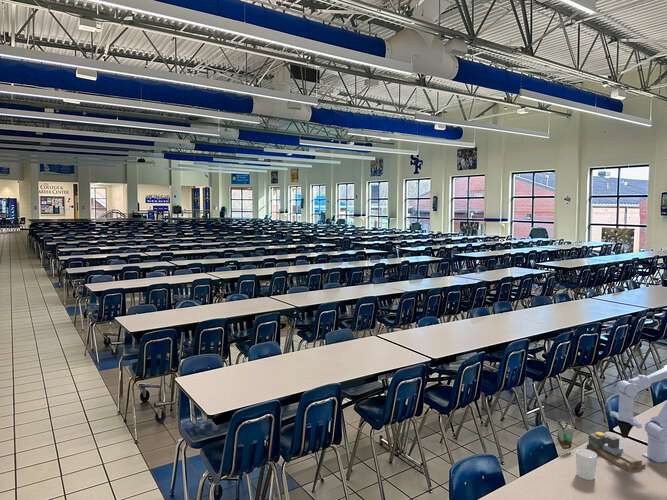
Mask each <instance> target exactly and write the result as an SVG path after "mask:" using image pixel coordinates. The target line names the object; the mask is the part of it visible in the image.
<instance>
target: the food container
mask: <svg viewBox="0 0 667 500" xmlns="http://www.w3.org/2000/svg"><path fill="white" fill-rule="evenodd" d="M556 421H557V433H556V434H557V443H558V444H559V445H560V447H561V449H562V450H568V449H572V443H573V435H574V433H575V432H576V429H575V427H574V425H573V424H572V423H571V422H570V421H567V420H563V419H557V420H556Z"/></svg>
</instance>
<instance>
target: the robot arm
mask: <svg viewBox="0 0 667 500" xmlns="http://www.w3.org/2000/svg"><path fill="white" fill-rule="evenodd" d="M666 379H667V364H665V365H664V366H663V368H661V369H659V370H656V371H655V372H652V373H649V374H648V375H645V374H638V375H637V376H636V377H633V378H629V379H628V380H621V381H619V382H618V383H617V385H615V386H616V390H617V391H618V412H616V411H614V410H613V411H612V410H611V411H610V413H609V416H610V417H614V418H616V419H617V420H616V424H617V427H619V432H620V435H621V438H624V439H626V438H628V437H629V434H630V432H631V430H632V429H633V427H636V428H637V429H642V427H643V424H642V422H639V421H638V420H636V419H635V417H634V408H635V407H634V406H635V397H636V396H637V394H639V392H641V391H642V390H643V391H644V390H646V389H648V388H650V387H651V385H652V384H654V383H657V382H660V381H663V380H666ZM644 431H645V432H646V434H647V449H646V450H647V452H644V453H642V456H644V457H646V458H648V459H650V460H652V461H654V462H656V463H657V464H658V463H659V464H661V463H665V462H666V463H667V400H666V401H665V402H664V404H663V406H662V407H661V410H659V413H658V414H657V415H656V416H655V415H654V416H652V417H651V418H650V420H648V421H647V422H646V423H645V425H644Z"/></svg>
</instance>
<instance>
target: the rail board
mask: <svg viewBox="0 0 667 500" xmlns="http://www.w3.org/2000/svg"><path fill="white" fill-rule="evenodd" d="M600 432H601V433H604V432H602V431H600ZM604 434H605V437H598V436H596V435H595V432H593V433H588V444H586V449H588V450H591V451H593V452H595V453H596V454H597V455H599V456H600V457H602V458H604V459H606V460H607V461H609V462H611V463H612V464H615V465H617V467H619V468H622V469H623V470H625V471H627V472H629V471H634V470H640V469H645V468H646V464H645V463H644V462H643V460H642V459H641V458H640V459H636V458H634V457H633V456H630V455H629V454H627V453H625V452H623V453H622V455H621V454H617V456H615V455H613V454H611V453H609V452H608V451H606V450H604V449H603V446H604V444H608V437H612V436H611V435H609V434H607V433H604Z"/></svg>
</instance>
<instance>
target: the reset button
mask: <svg viewBox="0 0 667 500" xmlns="http://www.w3.org/2000/svg"><path fill="white" fill-rule="evenodd" d="M601 432H602V431H596V432H594V433H595V435H596V436H598V437H605V434H606V433H605V434H604V432H603V433H601Z"/></svg>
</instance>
